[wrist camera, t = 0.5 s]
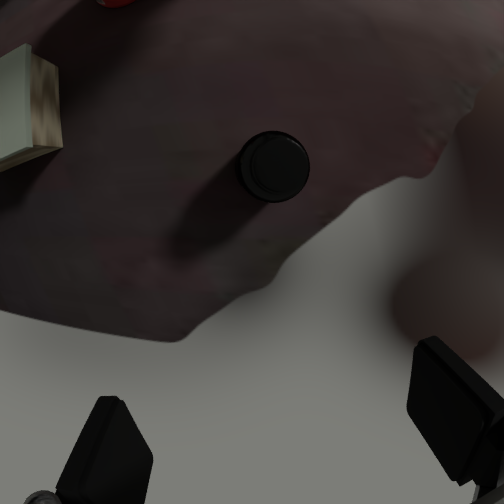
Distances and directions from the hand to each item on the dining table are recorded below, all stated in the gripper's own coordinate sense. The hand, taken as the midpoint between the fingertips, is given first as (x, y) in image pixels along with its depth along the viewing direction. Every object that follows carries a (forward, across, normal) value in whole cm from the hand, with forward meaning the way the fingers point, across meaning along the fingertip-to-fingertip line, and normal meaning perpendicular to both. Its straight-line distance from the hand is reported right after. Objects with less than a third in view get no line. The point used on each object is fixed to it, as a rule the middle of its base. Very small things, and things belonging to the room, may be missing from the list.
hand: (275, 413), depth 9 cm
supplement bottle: (+31, -4, -7) cm, 32 cm away
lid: (+22, +27, -22) cm, 41 cm away
